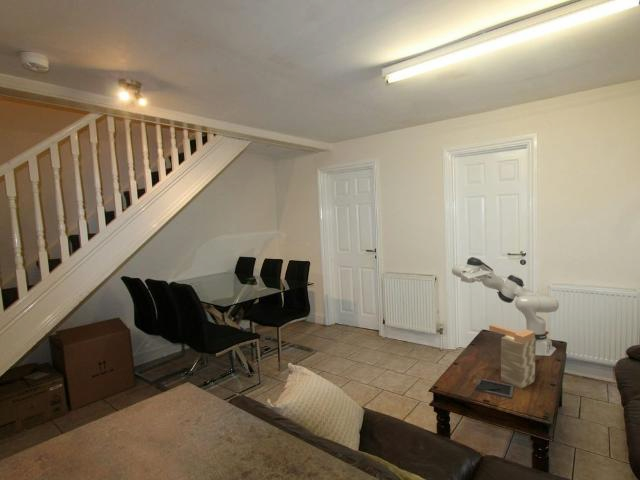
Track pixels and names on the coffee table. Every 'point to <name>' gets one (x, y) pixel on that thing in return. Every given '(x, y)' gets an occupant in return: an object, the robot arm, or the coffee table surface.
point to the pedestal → (517, 362)
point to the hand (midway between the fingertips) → (486, 279)
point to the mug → (536, 366)
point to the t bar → (514, 333)
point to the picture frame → (495, 388)
